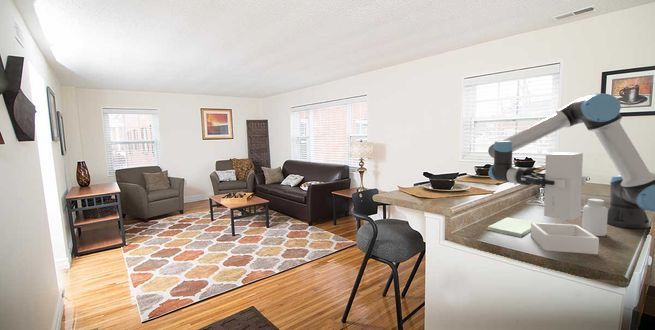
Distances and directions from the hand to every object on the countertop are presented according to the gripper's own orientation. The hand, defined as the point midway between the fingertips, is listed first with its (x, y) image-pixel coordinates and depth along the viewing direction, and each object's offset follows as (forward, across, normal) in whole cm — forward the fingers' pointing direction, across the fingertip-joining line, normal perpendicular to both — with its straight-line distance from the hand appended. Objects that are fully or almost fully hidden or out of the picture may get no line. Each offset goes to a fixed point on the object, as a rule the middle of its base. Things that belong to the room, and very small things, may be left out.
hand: (574, 182), depth 112 cm
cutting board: (-27, -1, -25) cm, 37 cm away
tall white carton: (-4, 0, -14) cm, 15 cm away
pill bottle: (-8, -24, -26) cm, 36 cm away
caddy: (-4, 0, -26) cm, 26 cm away
